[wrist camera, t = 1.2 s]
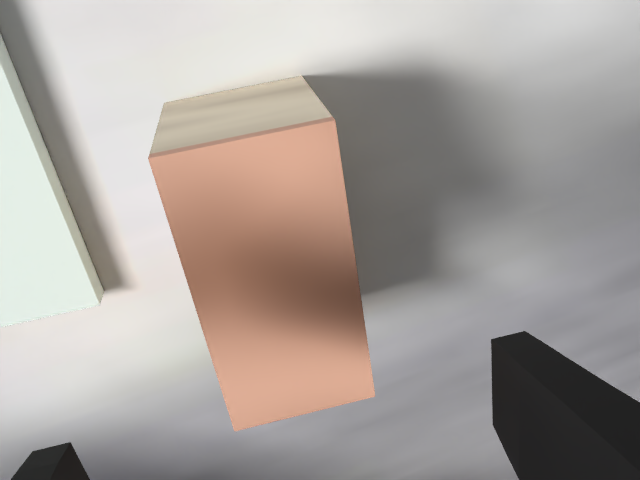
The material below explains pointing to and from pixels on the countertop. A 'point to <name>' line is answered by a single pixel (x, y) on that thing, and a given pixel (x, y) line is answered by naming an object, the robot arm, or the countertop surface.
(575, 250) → the countertop surface
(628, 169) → the countertop surface
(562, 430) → the robot arm
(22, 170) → the mat
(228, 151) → the maple block
